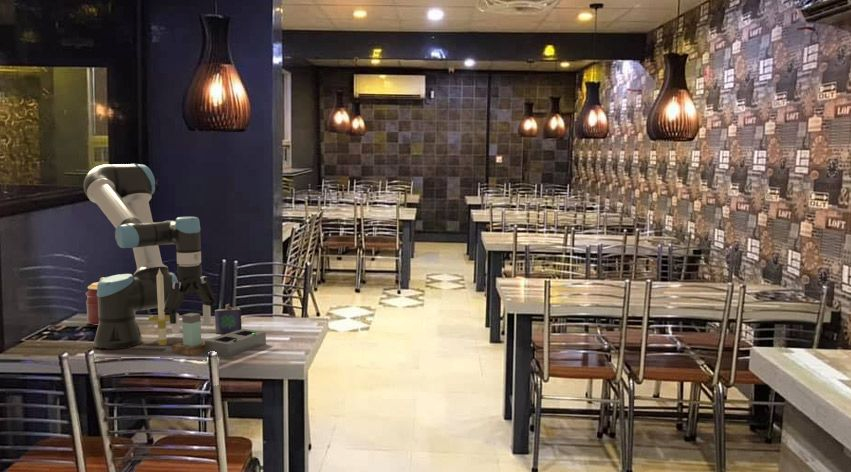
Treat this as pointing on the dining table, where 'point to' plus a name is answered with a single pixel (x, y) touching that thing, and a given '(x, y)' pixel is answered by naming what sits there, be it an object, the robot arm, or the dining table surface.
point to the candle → (160, 311)
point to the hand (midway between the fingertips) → (191, 328)
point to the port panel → (235, 342)
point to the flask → (227, 320)
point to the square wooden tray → (188, 348)
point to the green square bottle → (191, 329)
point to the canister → (92, 304)
